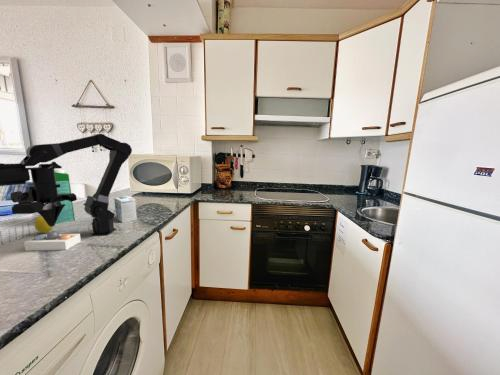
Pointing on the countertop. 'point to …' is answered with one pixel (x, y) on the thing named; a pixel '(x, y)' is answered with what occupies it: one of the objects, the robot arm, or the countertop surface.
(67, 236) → the terracotta button
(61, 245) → the frame
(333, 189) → the countertop surface
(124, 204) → the light bulb box
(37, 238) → the slate button
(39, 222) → the lemon
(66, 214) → the milk carton
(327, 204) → the countertop surface
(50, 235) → the charcoal button
